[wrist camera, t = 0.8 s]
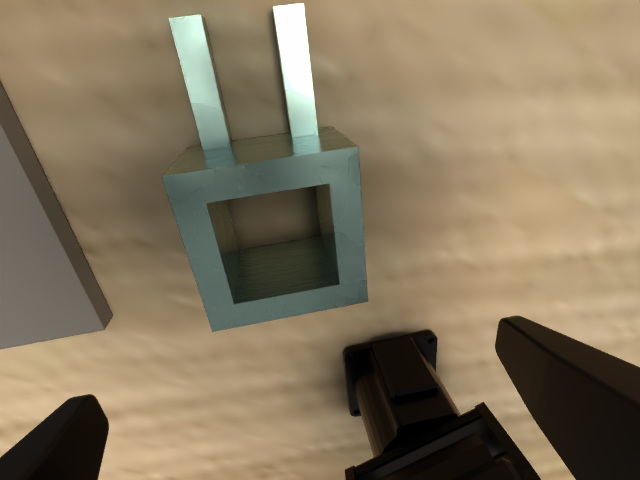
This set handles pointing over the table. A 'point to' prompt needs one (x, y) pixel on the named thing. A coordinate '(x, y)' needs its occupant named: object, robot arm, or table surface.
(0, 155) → the post board
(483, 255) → the table surface
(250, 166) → the teal collar
